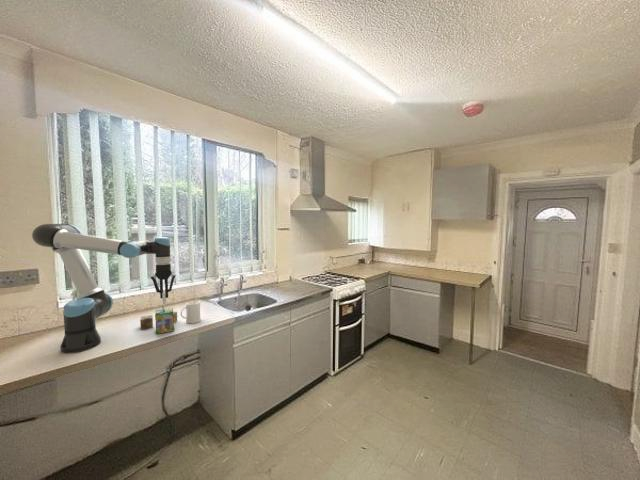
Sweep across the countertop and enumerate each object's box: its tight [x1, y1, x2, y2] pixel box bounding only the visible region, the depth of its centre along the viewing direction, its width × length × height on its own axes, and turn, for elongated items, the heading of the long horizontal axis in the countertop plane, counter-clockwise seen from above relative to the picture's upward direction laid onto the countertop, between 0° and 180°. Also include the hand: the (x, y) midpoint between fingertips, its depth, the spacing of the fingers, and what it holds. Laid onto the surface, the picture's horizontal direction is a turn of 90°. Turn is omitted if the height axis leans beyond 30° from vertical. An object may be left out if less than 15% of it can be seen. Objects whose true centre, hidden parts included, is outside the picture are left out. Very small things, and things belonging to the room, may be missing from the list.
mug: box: [180, 300, 201, 324], centre depth 167 cm, size 12×8×12 cm
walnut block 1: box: [139, 314, 154, 330], centre depth 158 cm, size 6×6×6 cm
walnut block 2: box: [173, 311, 178, 324], centre depth 165 cm, size 6×6×6 cm
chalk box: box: [154, 304, 175, 335], centre depth 153 cm, size 9×9×15 cm
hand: (164, 303), depth 153 cm, fingers closed
